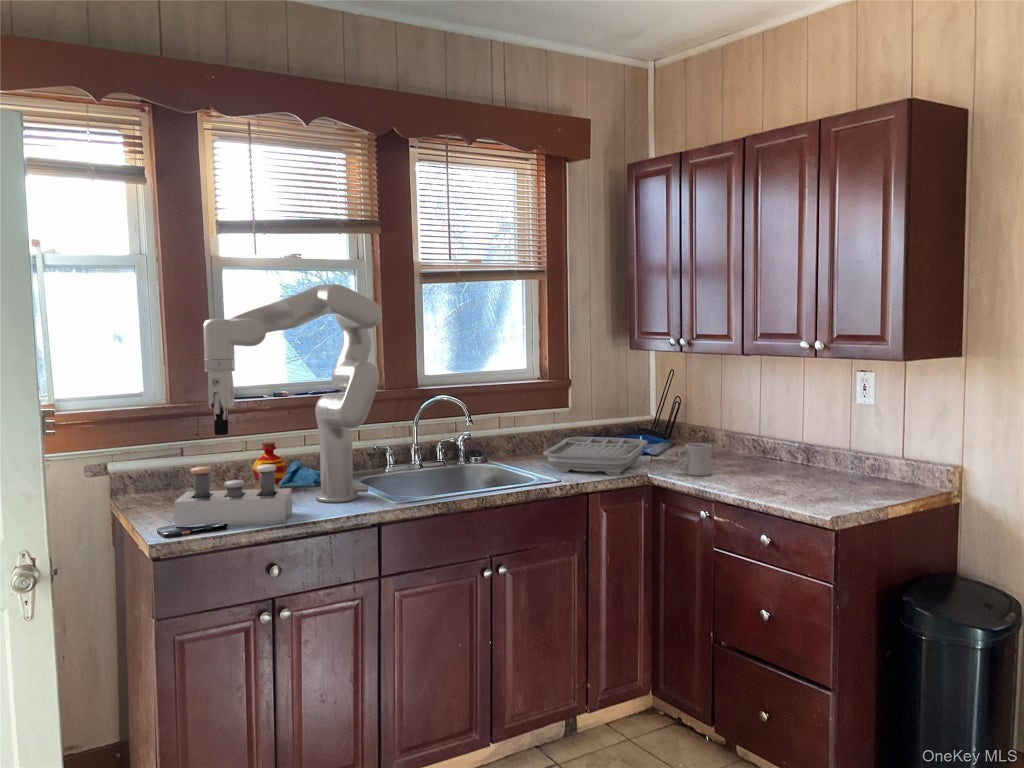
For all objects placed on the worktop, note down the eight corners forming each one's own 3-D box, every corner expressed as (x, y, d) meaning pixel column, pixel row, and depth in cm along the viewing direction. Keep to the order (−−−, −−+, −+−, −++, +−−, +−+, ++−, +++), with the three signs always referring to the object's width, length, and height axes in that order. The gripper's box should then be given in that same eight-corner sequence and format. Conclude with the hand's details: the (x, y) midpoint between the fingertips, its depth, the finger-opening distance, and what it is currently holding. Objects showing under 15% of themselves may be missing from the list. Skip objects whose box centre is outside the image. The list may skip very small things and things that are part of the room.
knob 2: (278, 493, 224) (277, 464, 223) (275, 497, 219) (274, 467, 218) (259, 493, 223) (258, 464, 222) (256, 497, 218) (255, 468, 218)
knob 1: (214, 495, 222) (212, 466, 221) (209, 499, 217) (208, 469, 216) (194, 496, 221) (193, 466, 220) (189, 500, 216) (188, 470, 215)
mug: (704, 470, 282) (704, 442, 281) (717, 475, 274) (717, 446, 273) (671, 472, 279) (671, 443, 278) (683, 478, 270) (683, 448, 269)
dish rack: (538, 474, 280) (537, 451, 279) (568, 455, 314) (568, 435, 313) (628, 480, 269) (629, 456, 268) (650, 460, 303) (650, 439, 302)
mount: (292, 512, 228) (291, 488, 228) (285, 523, 216) (284, 497, 216) (187, 516, 225) (186, 491, 224) (175, 528, 213) (174, 501, 212)
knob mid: (246, 508, 223) (245, 479, 222) (243, 513, 218) (242, 483, 217) (228, 509, 223) (226, 480, 222) (223, 513, 218) (222, 484, 217)
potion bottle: (250, 488, 260) (248, 441, 258) (283, 485, 265) (282, 439, 263) (256, 495, 251) (254, 446, 249) (290, 491, 255) (289, 443, 254)
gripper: (228, 367, 210) (230, 438, 211) (239, 364, 224) (241, 430, 226) (198, 367, 208) (200, 439, 210) (211, 364, 223) (212, 431, 225)
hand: (221, 434), depth 218 cm, fingers closed
